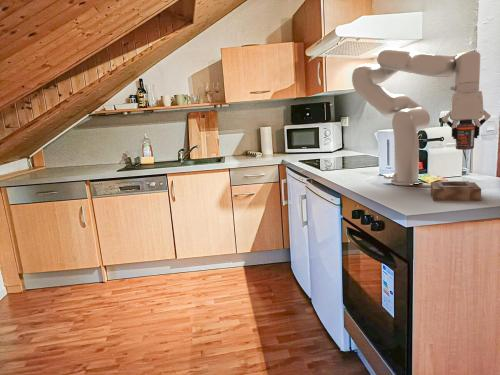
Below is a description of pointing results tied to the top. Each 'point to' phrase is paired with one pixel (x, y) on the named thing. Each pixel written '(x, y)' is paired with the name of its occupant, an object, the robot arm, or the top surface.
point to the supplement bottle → (465, 135)
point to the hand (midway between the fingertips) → (465, 137)
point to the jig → (455, 191)
